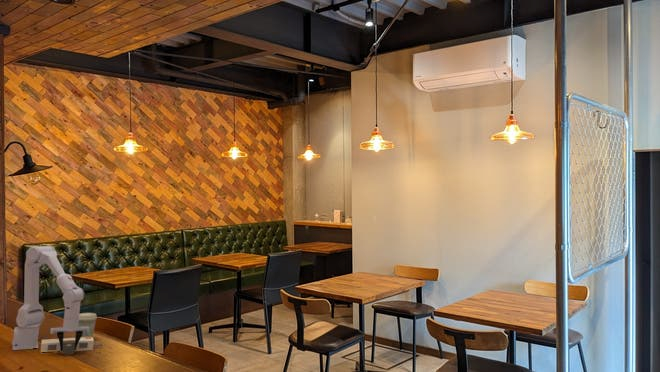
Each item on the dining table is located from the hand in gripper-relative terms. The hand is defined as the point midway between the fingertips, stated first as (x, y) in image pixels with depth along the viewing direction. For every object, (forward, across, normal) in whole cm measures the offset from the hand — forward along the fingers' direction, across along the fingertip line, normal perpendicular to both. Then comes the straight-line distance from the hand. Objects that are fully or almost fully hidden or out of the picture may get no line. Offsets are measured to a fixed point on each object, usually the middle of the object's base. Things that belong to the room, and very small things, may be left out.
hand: (68, 349), depth 209 cm
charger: (+2, 0, 0) cm, 2 cm away
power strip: (+2, +2, +7) cm, 7 cm away
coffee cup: (+2, +8, +22) cm, 23 cm away
